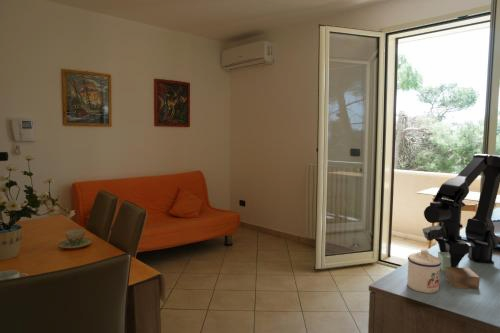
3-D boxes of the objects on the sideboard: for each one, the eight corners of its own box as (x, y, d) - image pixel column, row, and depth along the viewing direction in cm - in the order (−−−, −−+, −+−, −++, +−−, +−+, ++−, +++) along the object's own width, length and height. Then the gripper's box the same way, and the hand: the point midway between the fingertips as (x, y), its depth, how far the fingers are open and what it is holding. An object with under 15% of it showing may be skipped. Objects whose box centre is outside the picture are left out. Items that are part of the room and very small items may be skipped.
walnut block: (468, 280, 114) (469, 268, 114) (478, 289, 107) (479, 277, 107) (445, 278, 115) (445, 266, 115) (454, 288, 108) (454, 275, 108)
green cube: (452, 266, 125) (453, 252, 124) (458, 272, 120) (459, 257, 119) (437, 265, 126) (438, 251, 125) (442, 270, 121) (443, 256, 120)
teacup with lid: (432, 296, 102) (435, 258, 101) (401, 286, 109) (403, 250, 107) (446, 284, 110) (449, 248, 109) (416, 275, 117) (418, 241, 116)
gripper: (418, 212, 132) (415, 252, 133) (434, 225, 113) (431, 272, 115) (450, 213, 130) (447, 254, 131) (472, 227, 111) (469, 275, 113)
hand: (447, 263), depth 123 cm, fingers open, 9 cm apart
